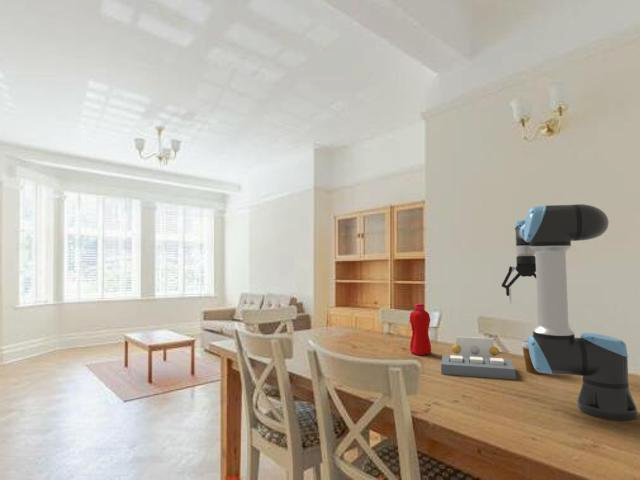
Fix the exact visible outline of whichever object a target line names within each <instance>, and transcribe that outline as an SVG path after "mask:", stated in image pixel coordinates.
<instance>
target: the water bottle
mask: <svg viewBox="0 0 640 480" xmlns="http://www.w3.org/2000/svg"><path fill="white" fill-rule="evenodd" d="M414 306H415V307H414V310H412V311H411V312H410V314H409V321H408V324H410V327H411V329H410V328H408V330H409V331H411V333H412V334H411V339H410V343H409V344H410V345H409V349H410V352H411V353H412V354H414V355H416V356H424V355H425V356H427V355H430V354H431V353H432V345H431V341H430V336H429V328H430V323H431V317H430V316H431V315H430V313H429V312H428V311H427V310H425V305H424V304H423V303H415V305H414Z"/></svg>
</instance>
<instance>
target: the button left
mask: <svg viewBox="0 0 640 480" xmlns="http://www.w3.org/2000/svg"><path fill="white" fill-rule="evenodd" d="M449 356H450V362H461V363H463V356H457V355H453V354H450V355H449Z"/></svg>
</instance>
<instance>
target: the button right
mask: <svg viewBox="0 0 640 480" xmlns="http://www.w3.org/2000/svg"><path fill="white" fill-rule="evenodd" d="M503 359H504V358H501V357H499V358H498V357H494V358H490V364H491V365H504V360H503Z"/></svg>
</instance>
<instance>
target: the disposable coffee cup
mask: <svg viewBox="0 0 640 480" xmlns="http://www.w3.org/2000/svg"><path fill="white" fill-rule="evenodd" d="M521 343H522V344H521V348H522V352H523V358H524V363H525V364H524V365H525V369H526V370H525V371H526V372H527V373H530V374H535V375H541V374H542V375H543V373H540V372H538V371H536V369H535V368H534V366H533V364H532V361H531V357H530V353H529V347H528V340H524V341H522V342H521Z"/></svg>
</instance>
